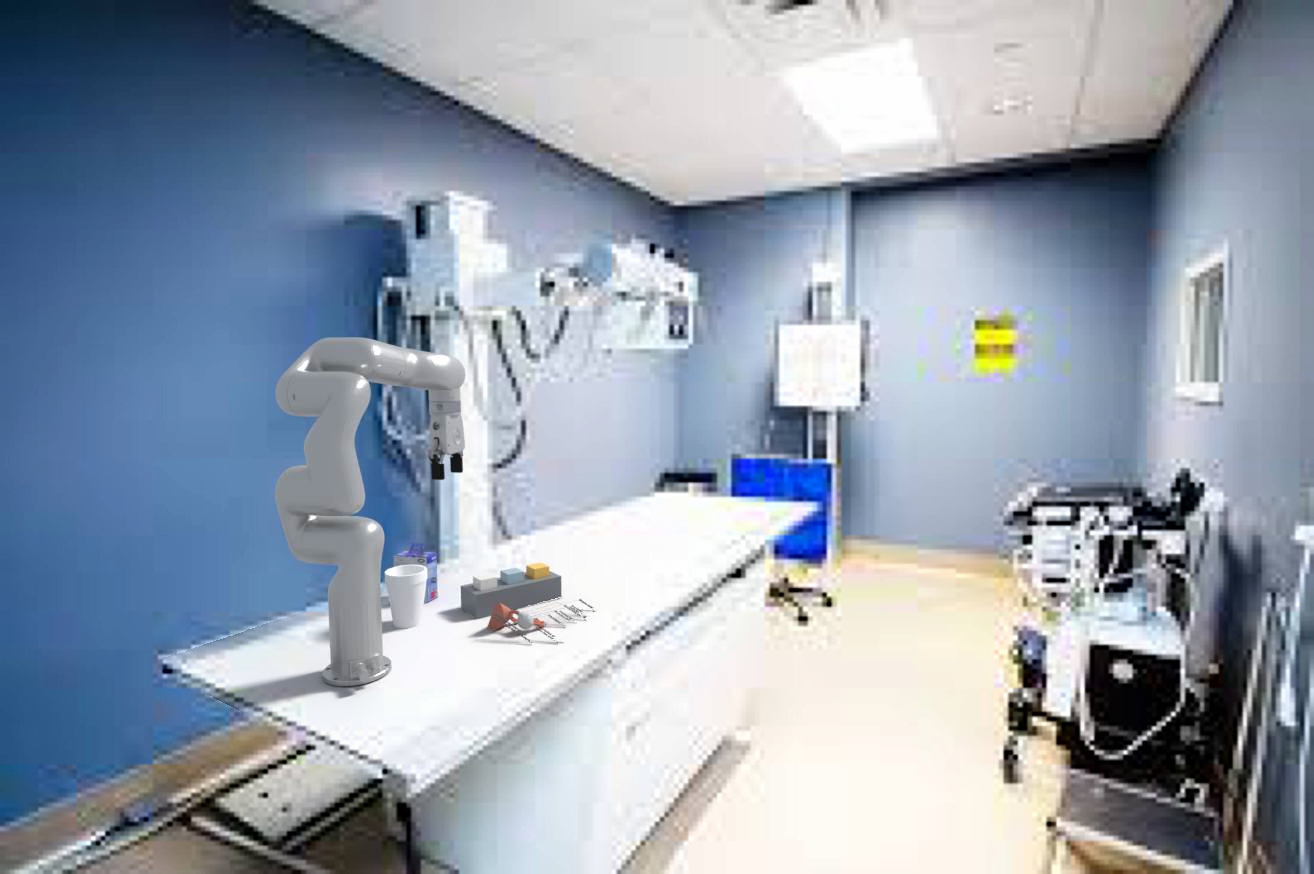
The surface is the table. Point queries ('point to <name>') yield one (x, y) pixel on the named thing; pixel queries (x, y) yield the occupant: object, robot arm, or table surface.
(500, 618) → the anatomical diagram
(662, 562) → the table surface
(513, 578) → the light blue cube
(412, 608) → the foam cup
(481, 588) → the white cube
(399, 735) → the table surface
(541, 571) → the amber button
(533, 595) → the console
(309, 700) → the table surface
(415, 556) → the ink cartridge box
